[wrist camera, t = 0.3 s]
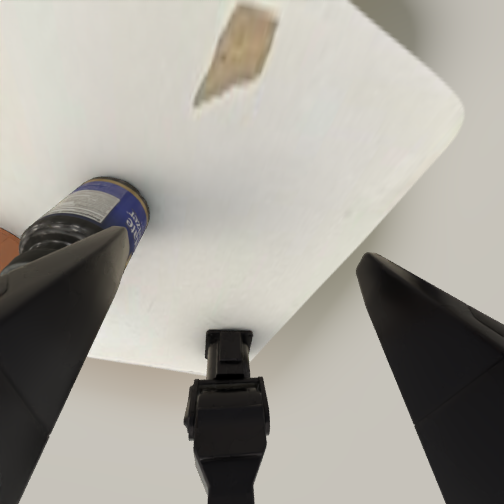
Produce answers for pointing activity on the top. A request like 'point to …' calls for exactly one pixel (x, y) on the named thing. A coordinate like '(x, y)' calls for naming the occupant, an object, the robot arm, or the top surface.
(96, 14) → the top surface
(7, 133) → the top surface
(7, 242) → the bowl
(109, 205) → the pill bottle
